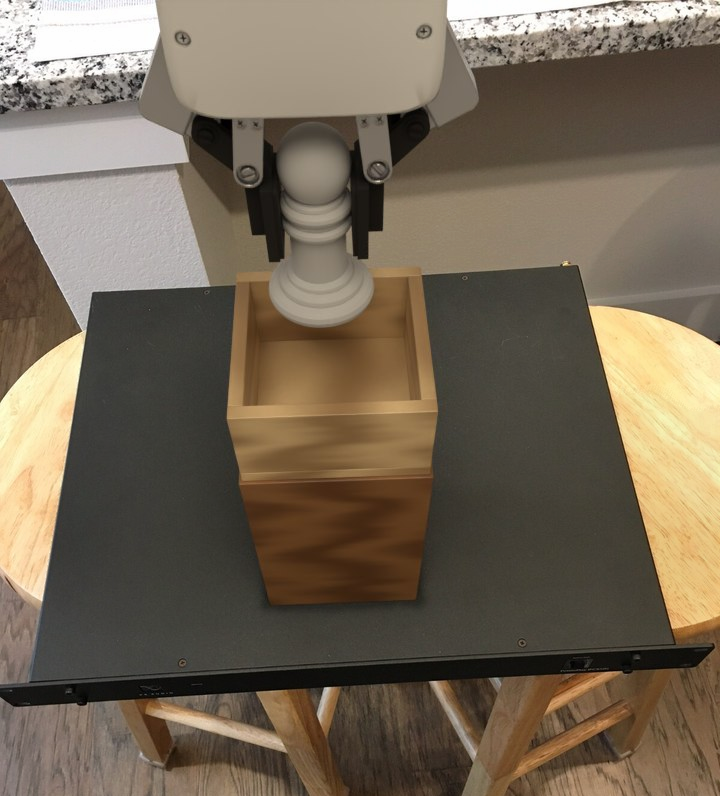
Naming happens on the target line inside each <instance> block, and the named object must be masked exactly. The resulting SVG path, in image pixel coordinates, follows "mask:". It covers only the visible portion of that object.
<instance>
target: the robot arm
mask: <svg viewBox="0 0 720 796" xmlns="http://www.w3.org/2000/svg"><path fill="white" fill-rule="evenodd" d="M154 1H155V2H154V3H155V7H156V14H157V15H156V16H157V19H158V27H159V33H158V36H157V40H156V43H155V46H154V49H153V51H152V54H151V58H150V62H149V64H148V67H147V69H146V72H145V73H146V74H145V76H144V79H143V83H142V85H141V89H140V95H139V100H138V106H137V109H138V112H139V114H140V115H141V116H142V118H144V119H145V120H146V121H148V122H151V123H153V124H155V125H158V126H159V127H162V128H164V129H167V130H169V131H171V132H173V133H175V134H178V135H180V136H181V137H184V136H188V137H189V138H191V139H192V141H193V142H194V143H195V144H196V146H197V147H199V148H201V149H202V150H203V151H205V152H206V153H208V154H209V155H210V156H211V157H213V158H214V159H215V160H217V161H218V162H220V163H221V164H222V165H224V166H225V167H227V169H229V170H230V171H231V172H233V174H232V175H233V179H234V181H235V182H236V183H237V184H238V185H239V186H241V187H242V188H244V193H245V200H246V206H247V213H248V219H249V227H250V231H251V236H252V237H253V236H264V237H265V242H266V250H267V259H268V263H280V262H281V260H284V259H285V258H286V256H285V255H286V254H285V252H286V251H285V250H286V249H285V246H286V245H285V244H286V232H285V230H284V228H283V226H282V212H281V205H280V199H281V193H282V191H283V187H282V185H281V183H280V180H279V177H278V174H277V168H276V156H277V151H275V150H274V145H273V144H271V143H270V142H268V141H267V140H266V139H265V136H266V134H265V133H266V131H265V130H266V127H265V126H266V125H265V124H266V120H267V119H271V120H272V119H306V118H307V119H308V118H311V119H312V118H337V117H341V118H342V117H355V121H356V128H357V135H358V136H357V137H358V138H357V139H356V140H355V141H354V143H353V149H349V150H350V154H351V164H352V165H351V175H350V179H349V186H350V187H349V190H350V192H351V201H352V208H351V212H352V225H351V227H350V229H351V244H352V255H353V257H357V259H358V260H369V256H370V255H369V252H370V251H369V250H370V248H369V244H370V243H369V242H370V240H369V239H370V238H369V235H370V234H369V233H374V232H383V231H384V211H385V209H384V207H385V204H384V203H385V183H386V182H388V181H389V180H390V179H391V178H392V175H393V170H394V169H393V168H394V167H395V166H396V165H397V164H398V163H399V162H401V161H402V160H403V159H404V158H405V157H406V156H407V155H408V154H409V153H410V152H412V151H413V150H414V149H415V148H416V147H417V146H419V144H421V143H422V142H423V141H424V140H425V139H427V137H428V136H429V134H430V131H432V130H434V129H436V128H437V129H440V128H442V127H444V126H446V125H447V124H449V123H451V122H453V121H455V120H456V119H459V118H460V117H463V116H464V115H466V114H467V113H469V112H471V111H473V110H474V109H475V108H476V107H477V106H478V105H479V100H480V96H479V95H480V94H479V91H478V87H477V82H476V77H475V75H474V73H473V71H472V69H471V66H470V65H469V62H468V60H467V58H466V56H465V53H464V51H463V49H462V47H461V44H460V42H459V40H458V38H457V36H456V34H455V32H454V29H453V26H452V25H451V23H450V20H449V18H448V0H154Z"/></svg>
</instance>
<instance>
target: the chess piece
mask: <svg viewBox="0 0 720 796" xmlns="http://www.w3.org/2000/svg"><path fill="white" fill-rule="evenodd" d="M350 150H351V149H350V148H349V145H348V143H347V141H346V139H345V138H344V136H343V135H342V134H341V132H340V131H338V130H337V129H336V128H334V127H333V126H331V125H329V124H327V123H324V122H320V121H307V122H302V123H299V124H296V125H295V126H293V127H291V128H290V129H289V130H287V132H286V133H285V134H284V135H283V137H282V138H281V140H280V142H279V144H278V146H277V151H276V152H277V156H276V168H277V174H278V177H279V180H280V183H281V186H282V193H281V199H280V205H281V212H282V226H283V228H284V230H285V234H287V235H288V236H289V243H290V255H288V256H287V257H285V258H284V259H282V261H280V262H278V264H277V265H276V266H275V268H274V269H273V270H272V271H273V273H272V275H271V278H270V282H269V295H270V299H271V301H272V303H273V305H274V306H275V308H276V309H277V311H278V312H279V313H280V314H281V315H283V316H284V317H285V318H287V319H288V320H290V321H292V322H294V323H296V324H300V325H303V326H308V327H316V328H324V327H333V326H337V325H341V324H344V323H346V322H349V321H351V320H353V319H354V318H356V317H357V316H359V315H360V314H361V313H362V312H363V311H364V310H365V309H366V308H367V306H368V305H369V303H370V301H371V298H372V295H373V292H374V282H373V278H372V275H371V272H370V270H369V269H368V268H369V267H368V265H367V264H366V263H365V261H363V260H362V259H360V260H358V259H357V257H353V253H350V252H348V251H347V249H348V248H347V233H348V232H349V230H350V229H351V225H352V212H351V208H352V201H351V192H350V188H349V187H348V185H349V183H350V175H351V165H352V164H351V154H350Z"/></svg>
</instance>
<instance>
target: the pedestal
mask: <svg viewBox="0 0 720 796" xmlns="http://www.w3.org/2000/svg"><path fill="white" fill-rule="evenodd" d="M434 477H435V476H434V469H433V461H432V462H431V468H430V474H422V475H394V476H367V477H339V478H312V479H284V480H256V481H242V478H241V474H240V470H239V472H238V487H239V490H240V495H241V499H242V502H243V506H244V511H245V514H246V518H247V522H248V526H249V529H250V533H251V536H252V541H253V545H254V549H255V552H256V556H257V560H258V564H259V567H260V568H259V569H260V572H261V576H262V579H263V583H264V587H265V591H266V594H267V598H268V602H269V605H270V606H289V605H292V606H293V605H316V604H318V605H319V604H341V603H342V604H343V603H367V602H368V603H370V602H371V603H372V602H390V601H391V602H394V601H415V600H417V595H418V589H419V581H420V575H421V570H422V569H421V567H422V561H423V553H424V547H425V541H426V533H427V527H428V521H429V520H428V519H429V513H430V504H431V499H432V490H433V485H434Z"/></svg>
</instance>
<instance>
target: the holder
mask: <svg viewBox="0 0 720 796" xmlns="http://www.w3.org/2000/svg"><path fill="white" fill-rule="evenodd" d="M368 269H369V270H370V272H371V275H372V278H373V282H374V292H373V295H372V298H371V301H370V303H369V305H368V306H367V308H366V309H365V310H364V311H363V312H362V313H361V314H360V315H359V316H357V317H356V318H354V319H353V320H351V321H349V322H346V323H344V324H341V325H337V326H333V327H324V328H316V327H308V326H303V325H300V324H296V323H294V322H292V321H290V320H288V319H287V318H285V317H284V316H283V315H281V314H280V313H279V312H278V311H277V309H276V308H275V306H274V305H273V303H272V301H271V299H270V295H269V282H270V278H271V275H272V273H273V271H274V270H266V271H237V272H236V278H235V293H234V305H233V307H234V308H233V321H232V335H231V336H232V337H231V347H230V348H231V349H230V364H229V379H228V380H229V382H228V393H227V394H228V395H227V406H226V422H227V426H228V431H229V433H230V438H231V442H232V446H233V450H234V453H235V458H236V462H237V466H238V469H239V470H240V474H241V478H242V481H256V480H284V479H312V478H339V477H367V476H394V475H422V474H430V468H431V462H432V463H433V454H434V446H435V445H434V444H435V439H436V431H437V425H438V417H439V405H438V400H437V399H438V397H437V390H436V380H435V373H434V366H433V365H434V364H433V357H432V348H431V340H430V332H429V323H428V316H427V308H426V299H425V291H424V283H423V276H422V268H421V266H396V267H395V266H394V267H368Z"/></svg>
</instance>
